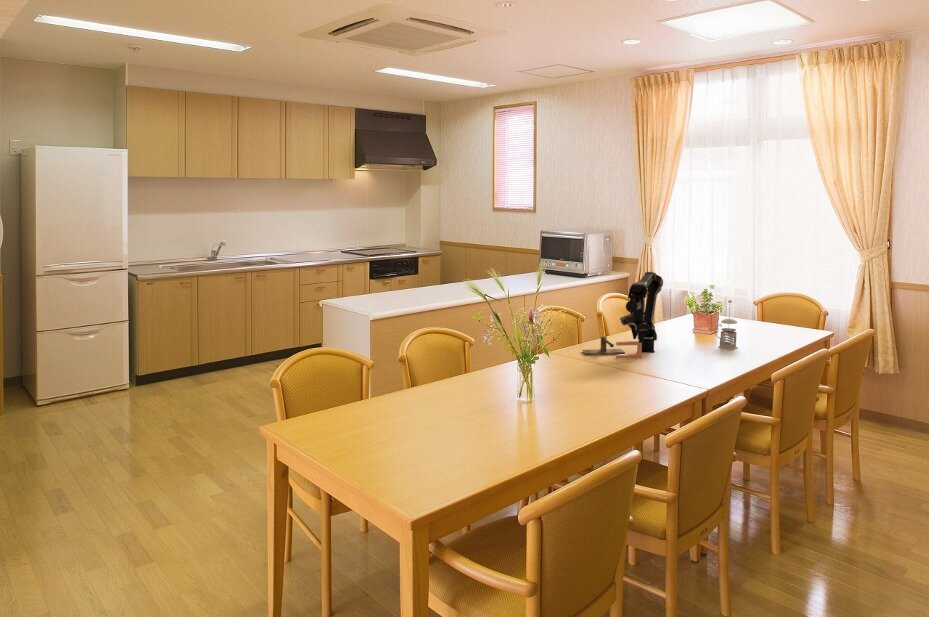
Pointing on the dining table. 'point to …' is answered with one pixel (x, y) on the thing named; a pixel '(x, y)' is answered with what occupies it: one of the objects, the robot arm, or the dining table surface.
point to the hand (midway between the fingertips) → (637, 341)
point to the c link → (639, 345)
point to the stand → (604, 349)
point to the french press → (730, 332)
